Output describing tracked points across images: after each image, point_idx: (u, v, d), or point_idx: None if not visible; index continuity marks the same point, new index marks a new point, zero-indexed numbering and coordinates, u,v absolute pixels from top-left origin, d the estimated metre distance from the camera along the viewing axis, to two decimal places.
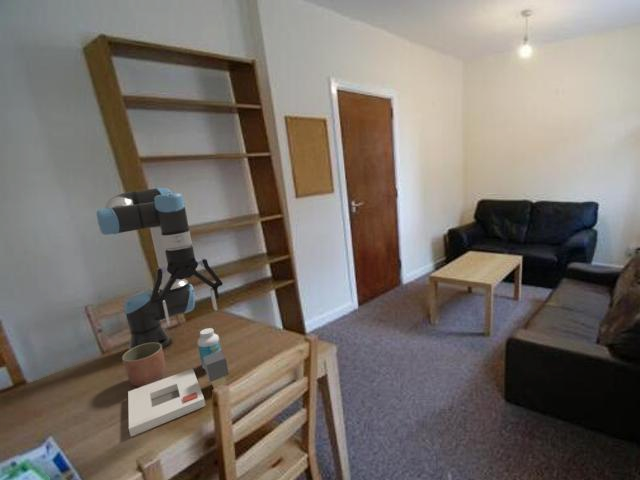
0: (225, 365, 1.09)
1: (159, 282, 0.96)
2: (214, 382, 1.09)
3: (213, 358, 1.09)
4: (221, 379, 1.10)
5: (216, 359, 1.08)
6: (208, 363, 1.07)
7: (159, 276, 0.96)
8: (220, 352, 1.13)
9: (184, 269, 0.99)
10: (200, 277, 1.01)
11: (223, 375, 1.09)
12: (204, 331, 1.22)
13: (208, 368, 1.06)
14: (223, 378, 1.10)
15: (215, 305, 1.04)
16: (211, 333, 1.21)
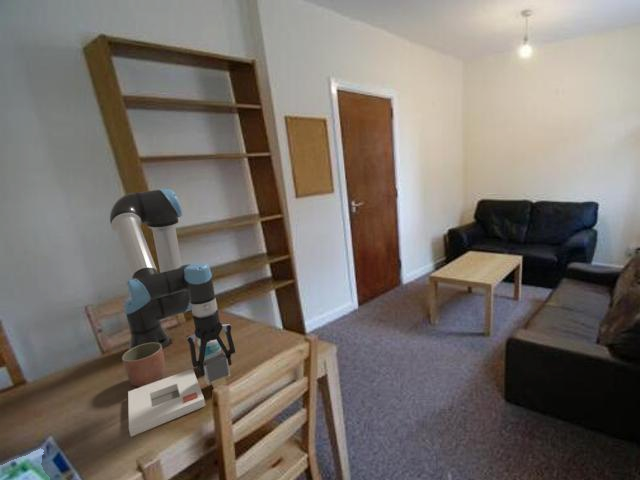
0: (225, 365, 1.09)
1: (193, 348, 1.05)
2: (214, 382, 1.09)
3: (213, 358, 1.09)
4: (221, 379, 1.10)
5: (216, 359, 1.08)
6: (208, 363, 1.07)
7: (191, 344, 1.05)
8: (220, 352, 1.13)
9: (210, 331, 1.07)
10: (220, 342, 1.09)
11: (223, 375, 1.09)
12: None
13: (208, 368, 1.06)
14: (223, 378, 1.10)
15: (228, 372, 1.12)
16: None
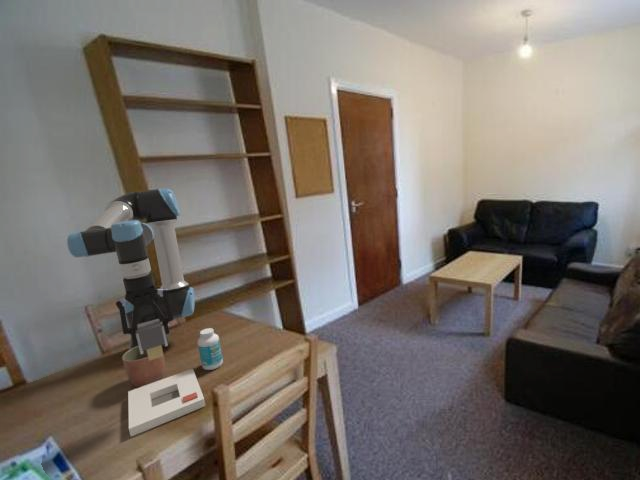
0: (160, 333, 1.00)
1: (123, 313, 0.96)
2: (148, 351, 1.00)
3: (147, 325, 1.00)
4: (156, 348, 1.01)
5: (150, 326, 0.99)
6: (140, 330, 0.98)
7: (120, 308, 0.96)
8: (157, 320, 1.04)
9: (143, 295, 0.98)
10: (155, 308, 1.00)
11: (158, 344, 1.00)
12: (204, 331, 1.22)
13: (140, 335, 0.97)
14: (159, 347, 1.01)
15: (165, 341, 1.03)
16: (211, 333, 1.21)
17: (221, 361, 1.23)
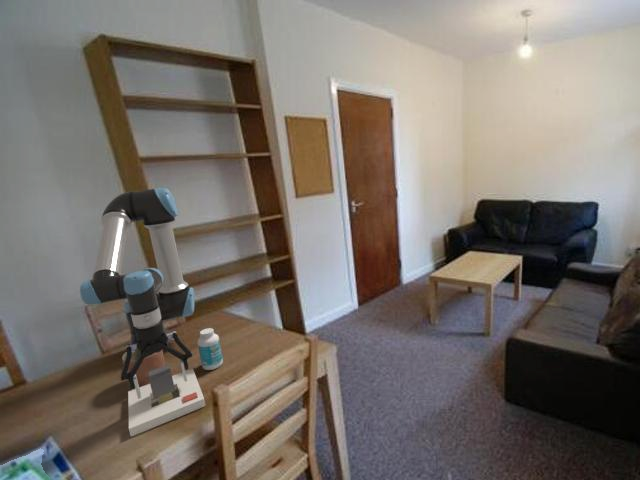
0: (171, 381, 1.03)
1: (129, 360, 0.99)
2: (159, 398, 1.03)
3: (158, 373, 1.04)
4: (167, 395, 1.04)
5: (161, 375, 1.03)
6: (152, 379, 1.01)
7: (128, 354, 0.98)
8: (167, 366, 1.07)
9: (153, 344, 1.01)
10: (169, 351, 1.04)
11: (169, 391, 1.03)
12: (204, 331, 1.22)
13: (151, 384, 1.01)
14: (169, 394, 1.05)
15: (185, 376, 1.07)
16: (211, 333, 1.21)
17: (221, 361, 1.23)
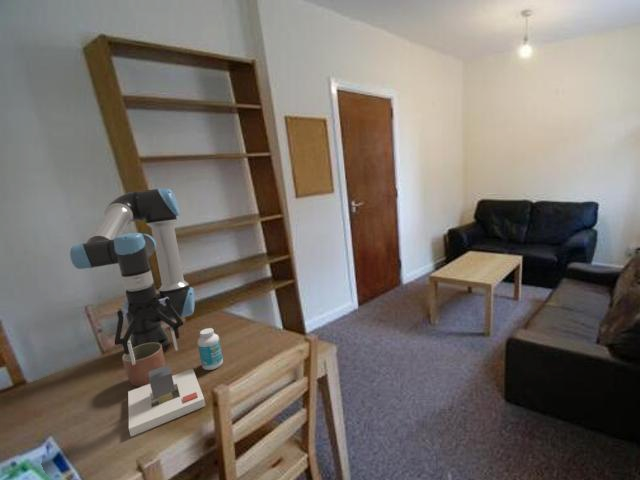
0: (171, 381, 1.03)
1: (121, 324, 0.96)
2: (159, 398, 1.03)
3: (158, 373, 1.04)
4: (167, 395, 1.04)
5: (161, 375, 1.03)
6: (152, 379, 1.01)
7: (120, 318, 0.96)
8: (167, 366, 1.07)
9: (145, 308, 0.99)
10: (161, 317, 1.01)
11: (169, 391, 1.03)
12: (204, 331, 1.22)
13: (151, 384, 1.01)
14: (169, 394, 1.05)
15: (175, 345, 1.04)
16: (211, 333, 1.21)
17: (221, 361, 1.23)
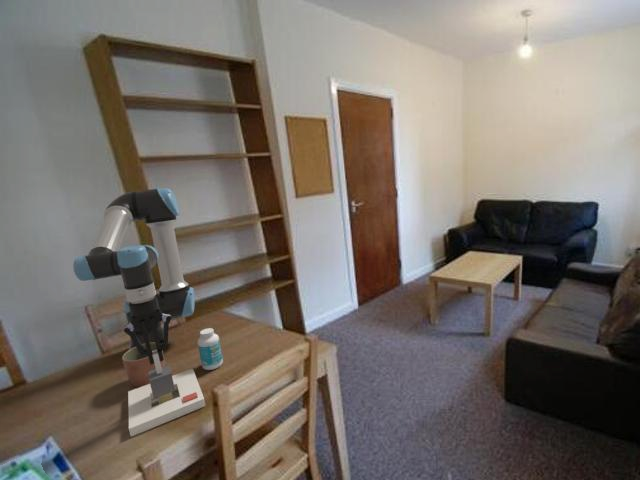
0: (171, 381, 1.03)
1: (134, 337, 0.98)
2: (159, 398, 1.03)
3: None
4: (167, 395, 1.04)
5: (161, 375, 1.03)
6: (152, 379, 1.01)
7: (130, 334, 0.98)
8: (167, 366, 1.07)
9: (148, 318, 1.00)
10: (155, 333, 1.01)
11: (169, 391, 1.03)
12: (204, 331, 1.22)
13: (151, 384, 1.01)
14: (169, 394, 1.05)
15: (159, 368, 1.03)
16: (211, 333, 1.21)
17: (221, 361, 1.23)
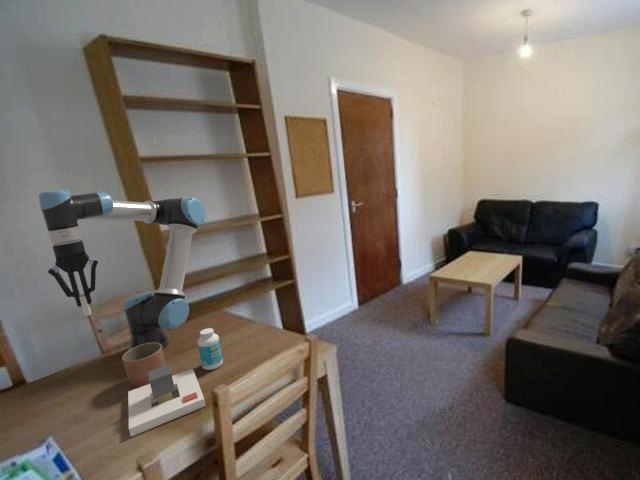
0: (171, 381, 1.03)
1: (59, 279, 1.02)
2: (159, 398, 1.03)
3: (158, 373, 1.04)
4: (167, 395, 1.04)
5: (161, 375, 1.03)
6: (152, 379, 1.01)
7: (54, 275, 1.01)
8: (167, 366, 1.07)
9: (73, 261, 1.04)
10: (81, 276, 1.05)
11: (169, 391, 1.03)
12: (204, 331, 1.22)
13: (151, 384, 1.01)
14: (169, 394, 1.05)
15: (87, 310, 1.07)
16: (211, 333, 1.21)
17: (221, 361, 1.23)
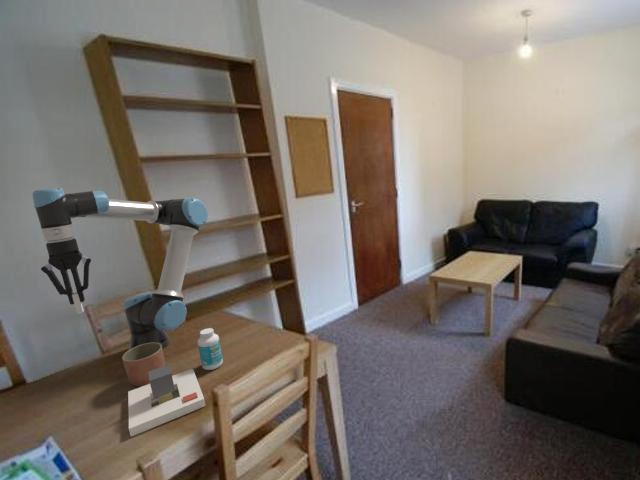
0: (171, 381, 1.03)
1: (52, 276, 1.03)
2: (159, 398, 1.03)
3: (158, 373, 1.04)
4: (167, 395, 1.04)
5: (161, 375, 1.03)
6: (152, 379, 1.01)
7: (47, 272, 1.02)
8: (167, 366, 1.07)
9: (66, 258, 1.04)
10: (74, 274, 1.05)
11: (169, 391, 1.03)
12: (204, 331, 1.22)
13: (151, 384, 1.01)
14: (169, 394, 1.05)
15: (80, 308, 1.07)
16: (211, 333, 1.21)
17: (221, 361, 1.23)
